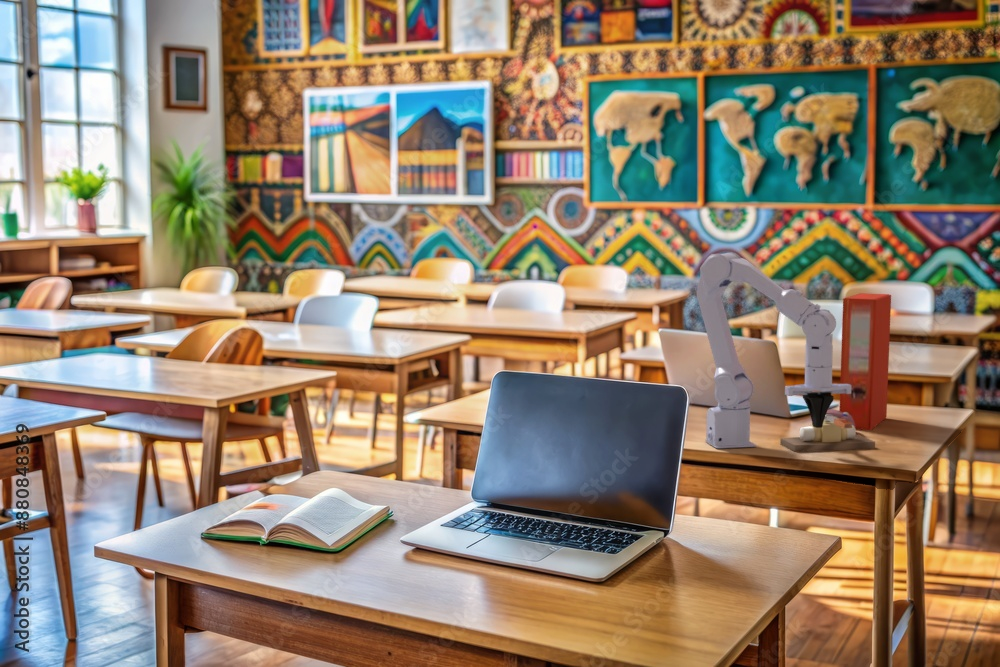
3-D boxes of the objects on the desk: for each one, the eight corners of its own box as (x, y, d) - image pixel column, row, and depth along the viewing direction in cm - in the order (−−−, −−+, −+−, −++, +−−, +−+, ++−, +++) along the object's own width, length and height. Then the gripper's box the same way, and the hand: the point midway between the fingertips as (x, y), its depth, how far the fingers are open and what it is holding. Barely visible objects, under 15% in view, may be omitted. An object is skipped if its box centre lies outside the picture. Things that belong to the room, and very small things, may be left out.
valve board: (794, 452, 241) (794, 445, 240) (780, 444, 248) (780, 438, 248) (875, 448, 243) (875, 441, 243) (858, 440, 251) (858, 434, 251)
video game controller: (811, 437, 263) (809, 414, 260) (815, 426, 267) (813, 403, 263) (853, 441, 259) (852, 417, 255) (856, 429, 262) (855, 406, 259)
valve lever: (821, 420, 246) (821, 413, 246) (829, 420, 246) (830, 413, 246) (843, 430, 235) (843, 423, 235) (852, 429, 236) (852, 422, 235)
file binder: (887, 418, 278) (891, 294, 274) (872, 430, 263) (876, 299, 260) (855, 415, 282) (858, 293, 278) (838, 427, 267) (841, 298, 264)
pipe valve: (806, 445, 243) (806, 425, 242) (798, 441, 247) (798, 422, 247) (856, 442, 244) (857, 423, 244) (847, 438, 249) (848, 420, 248)
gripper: (794, 369, 232) (793, 431, 233) (858, 367, 234) (856, 429, 235) (781, 364, 238) (780, 425, 240) (843, 362, 241) (842, 422, 242)
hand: (817, 426), depth 238 cm, fingers closed
